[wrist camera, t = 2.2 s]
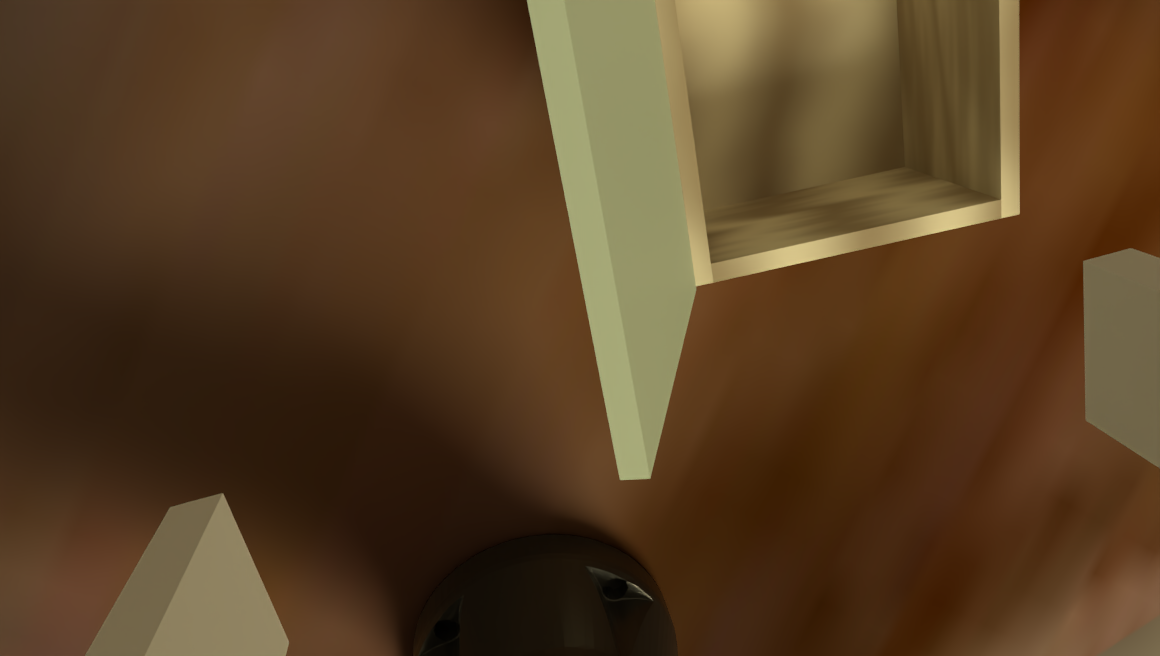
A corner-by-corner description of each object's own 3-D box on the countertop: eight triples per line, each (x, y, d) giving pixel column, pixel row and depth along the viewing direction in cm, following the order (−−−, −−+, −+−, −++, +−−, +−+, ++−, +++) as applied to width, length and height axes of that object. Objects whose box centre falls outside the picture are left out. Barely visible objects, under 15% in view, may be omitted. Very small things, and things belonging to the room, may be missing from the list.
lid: (697, 285, 35) (677, 287, 36) (643, -89, 30) (620, -85, 31) (650, 478, 22) (619, 480, 23) (543, -118, 17) (505, -109, 18)
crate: (647, 234, 44) (694, 286, 35) (599, -67, 39) (640, -89, 30) (913, 176, 45) (1019, 213, 36) (898, -125, 40) (1018, -163, 31)
